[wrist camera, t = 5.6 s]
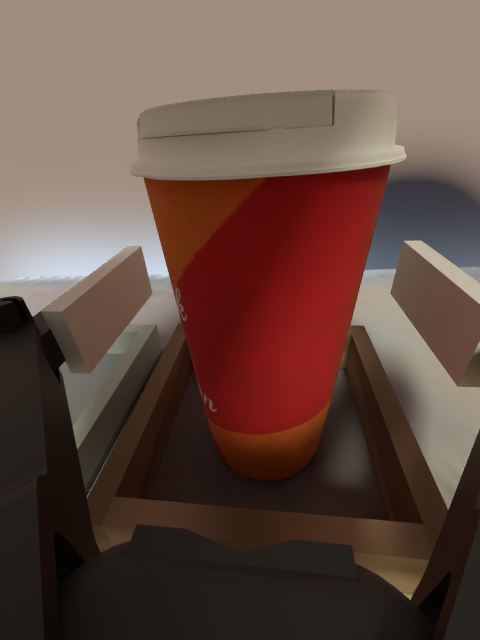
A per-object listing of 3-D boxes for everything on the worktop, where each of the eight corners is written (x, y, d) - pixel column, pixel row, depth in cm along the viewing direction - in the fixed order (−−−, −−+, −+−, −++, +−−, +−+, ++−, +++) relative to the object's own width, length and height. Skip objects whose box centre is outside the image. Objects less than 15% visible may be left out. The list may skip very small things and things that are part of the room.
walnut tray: (356, 359, 21) (363, 325, 20) (441, 597, 10) (472, 564, 9) (185, 355, 23) (178, 323, 21) (100, 557, 12) (74, 523, 10)
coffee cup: (238, 365, 21) (220, 119, 13) (355, 405, 18) (426, 99, 10) (160, 460, 15) (41, 115, 7) (312, 549, 12) (407, 59, 4)
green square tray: (162, 350, 23) (156, 324, 22) (48, 567, 12) (19, 540, 10) (7, 346, 25) (-8, 322, 24) (-229, 533, 13) (-285, 506, 12)
